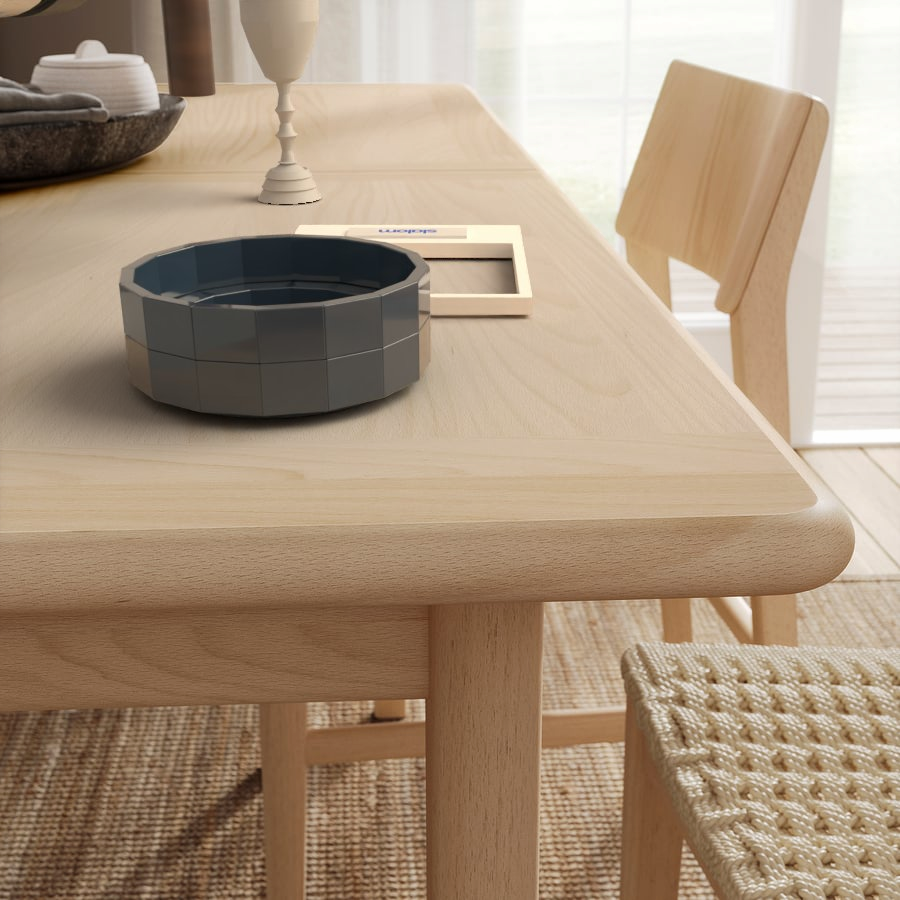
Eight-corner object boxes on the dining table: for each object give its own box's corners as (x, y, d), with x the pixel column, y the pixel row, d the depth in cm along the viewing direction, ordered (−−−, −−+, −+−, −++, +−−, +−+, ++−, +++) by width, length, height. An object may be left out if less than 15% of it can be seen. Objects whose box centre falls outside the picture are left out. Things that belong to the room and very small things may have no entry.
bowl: (68, 391, 51) (52, 279, 49) (267, 318, 61) (260, 223, 59) (303, 454, 45) (296, 327, 43) (482, 361, 55) (483, 255, 53)
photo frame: (519, 222, 78) (532, 293, 61) (519, 239, 78) (532, 314, 61) (299, 221, 78) (252, 293, 61) (300, 238, 78) (254, 313, 62)
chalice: (245, 191, 95) (228, -51, 88) (329, 188, 96) (319, -51, 89) (247, 209, 88) (229, -51, 81) (337, 205, 89) (327, -51, 82)
